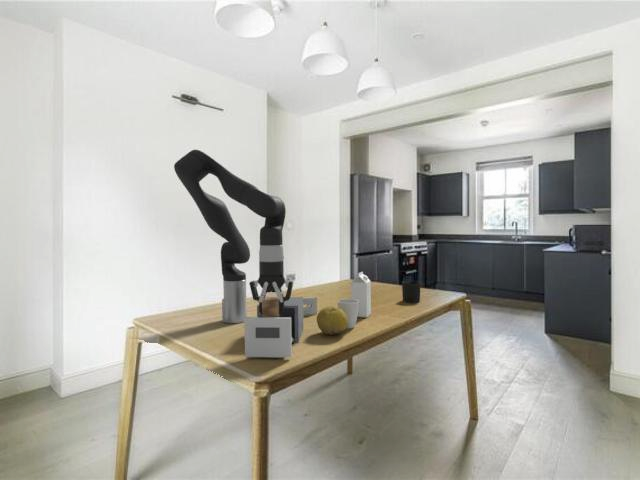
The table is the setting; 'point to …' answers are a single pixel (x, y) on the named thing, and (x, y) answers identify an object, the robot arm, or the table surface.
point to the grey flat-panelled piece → (268, 337)
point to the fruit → (332, 320)
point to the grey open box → (292, 315)
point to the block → (270, 307)
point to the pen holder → (411, 291)
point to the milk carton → (362, 294)
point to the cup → (349, 310)
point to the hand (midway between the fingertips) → (271, 313)
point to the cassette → (312, 308)
